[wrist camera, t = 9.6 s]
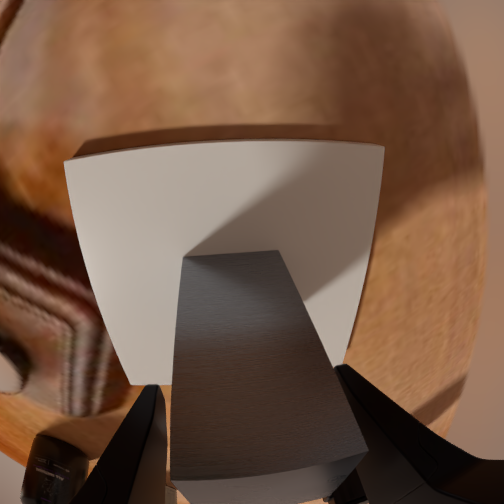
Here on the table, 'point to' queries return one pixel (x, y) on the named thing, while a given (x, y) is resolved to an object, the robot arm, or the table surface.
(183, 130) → the table surface
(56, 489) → the supplement bottle
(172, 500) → the skincare box
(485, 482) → the robot arm
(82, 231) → the pad
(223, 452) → the metal peg
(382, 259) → the table surface
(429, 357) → the table surface
